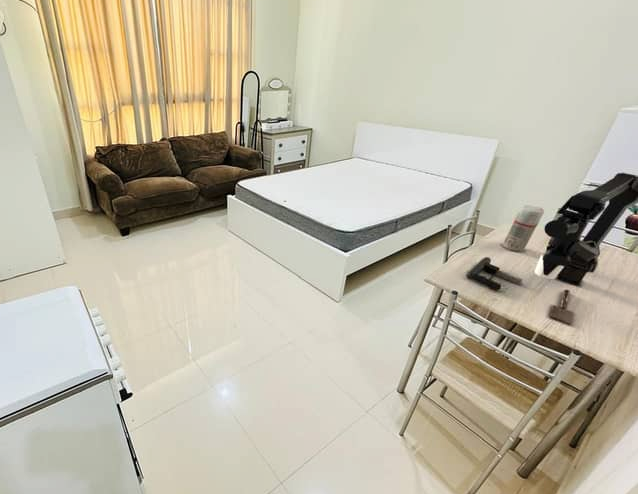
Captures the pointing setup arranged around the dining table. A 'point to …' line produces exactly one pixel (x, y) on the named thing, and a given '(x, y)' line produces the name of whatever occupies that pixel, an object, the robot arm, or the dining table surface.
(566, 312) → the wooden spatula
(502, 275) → the door handle
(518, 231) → the spray can
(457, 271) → the dining table surface
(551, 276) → the white cup
